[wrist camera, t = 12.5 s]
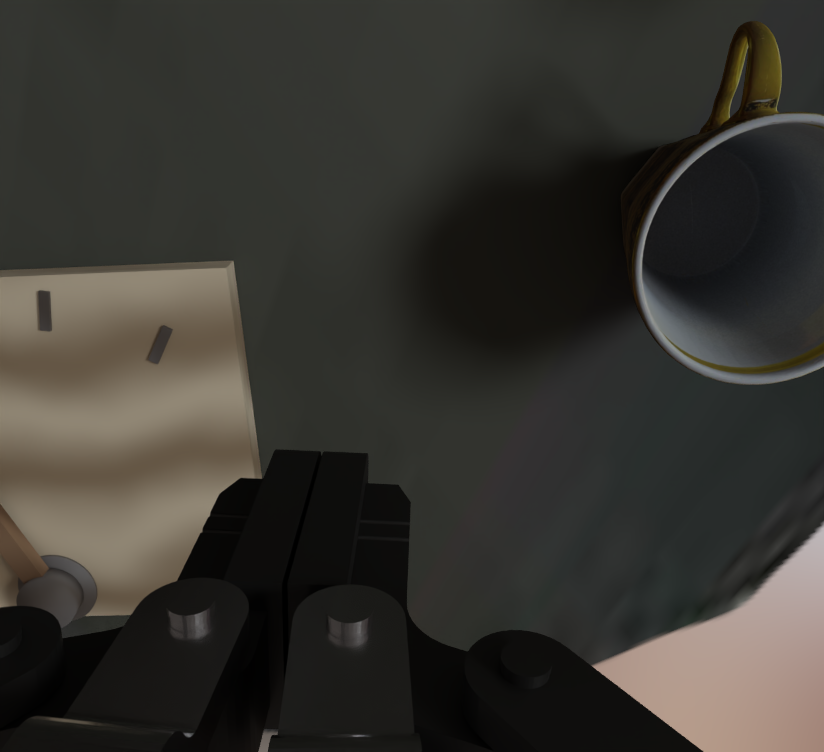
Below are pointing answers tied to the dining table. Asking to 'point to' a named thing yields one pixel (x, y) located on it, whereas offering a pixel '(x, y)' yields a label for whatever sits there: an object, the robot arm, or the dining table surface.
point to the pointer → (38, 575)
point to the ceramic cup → (734, 232)
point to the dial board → (120, 419)
